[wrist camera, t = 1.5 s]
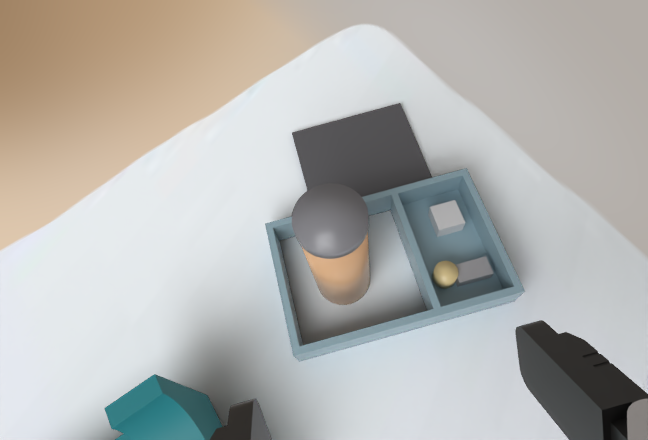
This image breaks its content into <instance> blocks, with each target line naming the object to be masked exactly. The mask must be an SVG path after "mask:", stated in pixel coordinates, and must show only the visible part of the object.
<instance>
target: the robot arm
mask: <svg viewBox="0 0 648 440" xmlns="http://www.w3.org/2000/svg"><path fill="white" fill-rule="evenodd" d="M516 341H517V349H518V357H519V365H520V371H521V375H522V377H523V380H524V382H525V384H526V386H527V387H528V389H529V390H530V392H531V393H532V394H533V395H534V397H535V398H536V399H537V400H538V402H539V403H540V404H541V405H542V407H543V408H544V409H545V410H546V411H547V413H548V414H549V415H550V416H551V418H552V419H553V420H554V421H555V423H556V424H557V425H558V426H559V428H560V429H561V430H562V431H563V433H564V434H565V435H566V436H567V437H568V439H569V440H648V394H647V393H646V392H645V391H643V390H642V389H641V388H640V387H639V386H638V385H636V384H635V383H634V382H633V381H632V380H631V379H629V378H628V377H627V376H626V375H625V374H624V373H622V372H621V371H620V370H619V369H618V368H617V367H615V366H614V365H613V364H612V363H611V364H610V363H609V361H608V360H607V359H606V358H605V357H604V356H602V355H601V354H599V353H598V351H597V350H595V349H594V348H593V347H592V346H591V345H590V344H588V343H587V342H586V341H585V340H583V339H581V338H578V337H576V336H574V335H572V334H569V333H567V332H565V333H561V334H558V333H556V332H555V331H554V330H553V329H552V328H551V327H550V326H549V325H548V324H547V323H545V322H544V321H542V320H541V321H537V322H533V323H530V324H526V325H522V326H519V327H517V328H516ZM210 440H272V439H271V436H270V433H269V431H268V428H267V425H266V422H265V420H264V417H263V414H262V411H261V409H260V406H259V403H258V401H257V400H256V399H253V400H249V401H246V402H242V403H238V404H235V405H232V406H231V407H230V411H229V418H228V425H227V426H224V427H220V428H217V429H216V430H215V432H214V433H213V435H212V437H211V438H210Z"/></svg>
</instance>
